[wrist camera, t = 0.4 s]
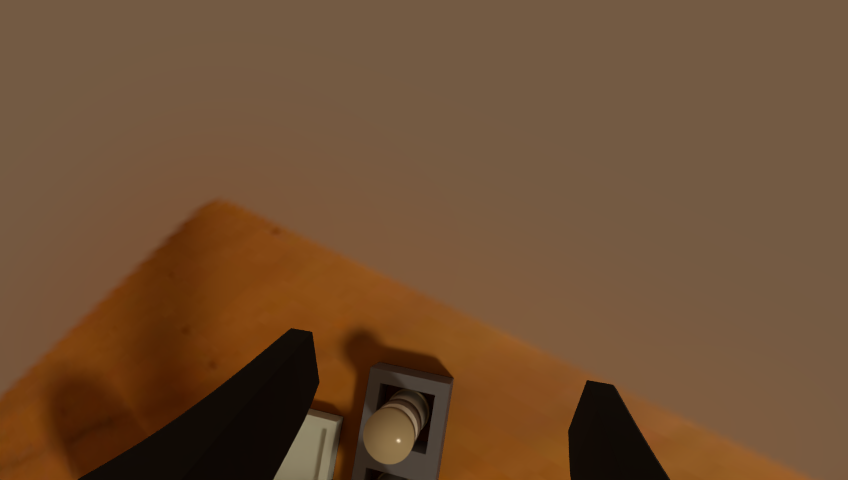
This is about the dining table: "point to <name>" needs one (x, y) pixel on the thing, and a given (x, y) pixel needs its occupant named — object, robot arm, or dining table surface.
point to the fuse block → (423, 455)
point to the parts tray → (313, 449)
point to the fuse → (390, 477)
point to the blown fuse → (396, 426)
